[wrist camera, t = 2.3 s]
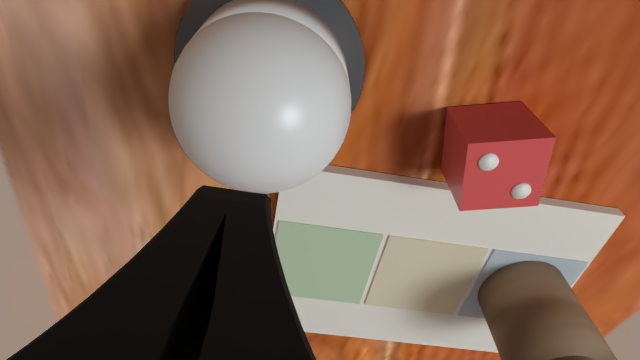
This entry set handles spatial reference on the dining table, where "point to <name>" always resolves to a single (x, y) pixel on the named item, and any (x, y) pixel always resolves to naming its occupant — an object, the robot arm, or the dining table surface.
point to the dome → (261, 95)
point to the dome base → (323, 3)
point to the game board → (416, 254)
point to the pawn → (538, 315)
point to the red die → (495, 155)
